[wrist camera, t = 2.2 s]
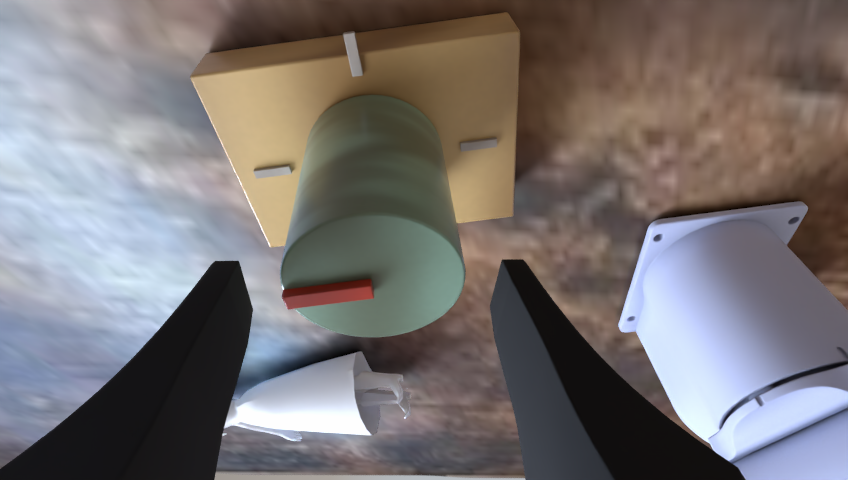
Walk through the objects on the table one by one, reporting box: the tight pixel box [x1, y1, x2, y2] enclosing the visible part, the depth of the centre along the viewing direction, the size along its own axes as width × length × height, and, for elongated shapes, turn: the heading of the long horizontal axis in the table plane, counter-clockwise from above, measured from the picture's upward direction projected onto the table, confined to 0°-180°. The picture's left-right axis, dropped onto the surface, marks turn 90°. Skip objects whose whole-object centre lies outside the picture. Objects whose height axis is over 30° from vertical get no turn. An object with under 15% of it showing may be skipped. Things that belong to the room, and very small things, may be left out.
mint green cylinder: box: [280, 95, 466, 337], centre depth 15 cm, size 5×5×7 cm
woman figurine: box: [222, 351, 411, 441], centre depth 31 cm, size 12×4×18 cm
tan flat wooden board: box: [190, 12, 520, 247], centre depth 18 cm, size 11×9×2 cm
